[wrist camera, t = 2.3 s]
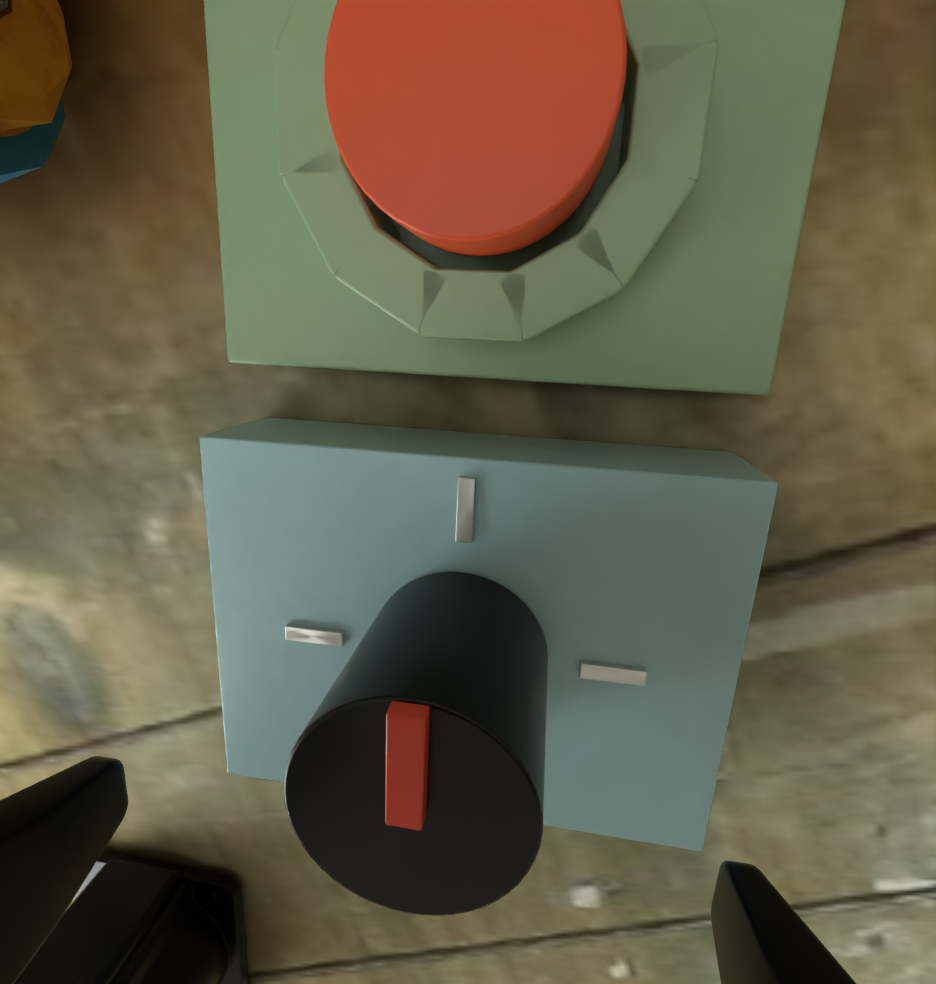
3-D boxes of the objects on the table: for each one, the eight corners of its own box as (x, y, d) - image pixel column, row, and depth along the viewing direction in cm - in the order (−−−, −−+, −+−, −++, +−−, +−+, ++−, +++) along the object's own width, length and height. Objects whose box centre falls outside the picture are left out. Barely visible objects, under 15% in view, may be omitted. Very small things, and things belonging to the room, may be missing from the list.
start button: (599, 260, 10) (608, 246, 8) (361, 252, 11) (325, 237, 9) (631, -41, 9) (648, -129, 7) (360, -31, 9) (318, -110, 8)
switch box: (744, 388, 13) (808, 406, 10) (262, 359, 15) (176, 366, 11) (831, -91, 11) (955, -284, 7) (241, -63, 12) (123, -212, 9)
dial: (540, 740, 13) (530, 959, 8) (373, 715, 14) (278, 910, 9) (556, 580, 12) (554, 735, 7) (373, 561, 12) (265, 693, 8)
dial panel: (677, 760, 16) (704, 858, 13) (280, 703, 18) (223, 778, 15) (732, 451, 14) (783, 485, 11) (265, 417, 15) (193, 436, 12)
